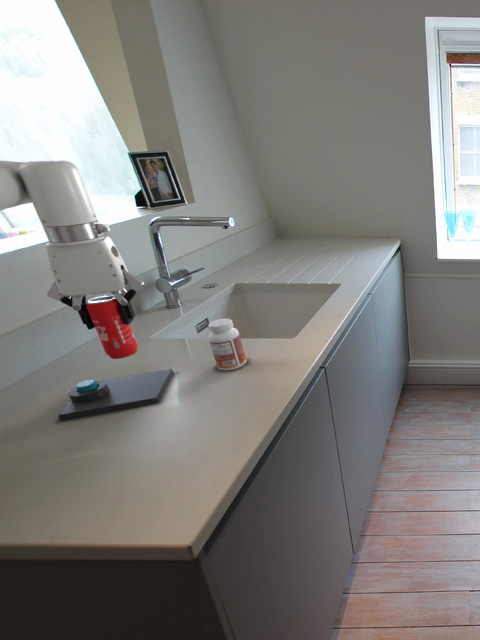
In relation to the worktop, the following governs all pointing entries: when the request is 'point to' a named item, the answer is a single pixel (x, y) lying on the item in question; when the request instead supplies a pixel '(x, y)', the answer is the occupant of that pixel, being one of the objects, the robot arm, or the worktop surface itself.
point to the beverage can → (111, 327)
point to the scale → (118, 394)
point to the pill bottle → (226, 345)
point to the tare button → (86, 386)
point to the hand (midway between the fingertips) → (111, 323)
